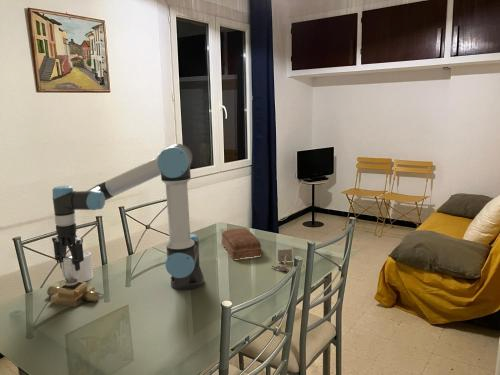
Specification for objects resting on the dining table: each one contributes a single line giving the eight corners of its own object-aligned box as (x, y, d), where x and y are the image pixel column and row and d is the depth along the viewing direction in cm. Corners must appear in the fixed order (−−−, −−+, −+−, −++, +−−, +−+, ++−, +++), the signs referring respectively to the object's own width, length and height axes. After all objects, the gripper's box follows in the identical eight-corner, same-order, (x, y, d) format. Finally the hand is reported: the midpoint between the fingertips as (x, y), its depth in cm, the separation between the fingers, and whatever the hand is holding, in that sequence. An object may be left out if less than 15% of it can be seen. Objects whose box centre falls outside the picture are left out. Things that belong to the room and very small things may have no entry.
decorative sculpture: (288, 274, 187) (289, 260, 186) (269, 272, 189) (269, 258, 188) (292, 261, 203) (292, 248, 201) (274, 259, 205) (274, 246, 203)
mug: (72, 285, 175) (69, 261, 173) (64, 280, 181) (61, 256, 178) (96, 277, 184) (94, 253, 181) (88, 272, 189) (86, 249, 187)
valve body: (105, 294, 166) (104, 282, 165) (87, 308, 155) (86, 294, 154) (61, 288, 172) (59, 276, 171) (40, 301, 161) (38, 288, 160)
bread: (247, 240, 235) (247, 223, 232) (263, 258, 207) (263, 238, 205) (220, 243, 230) (219, 225, 227) (232, 262, 202) (232, 241, 200)
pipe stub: (81, 281, 164) (78, 255, 162) (72, 287, 159) (70, 260, 157) (71, 280, 166) (68, 254, 163) (62, 285, 161) (59, 258, 158)
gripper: (90, 222, 158) (95, 275, 163) (54, 219, 163) (59, 270, 168) (78, 228, 151) (83, 282, 156) (40, 224, 156) (46, 278, 160)
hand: (71, 276), depth 162 cm, fingers closed on pipe stub, 5 cm apart
